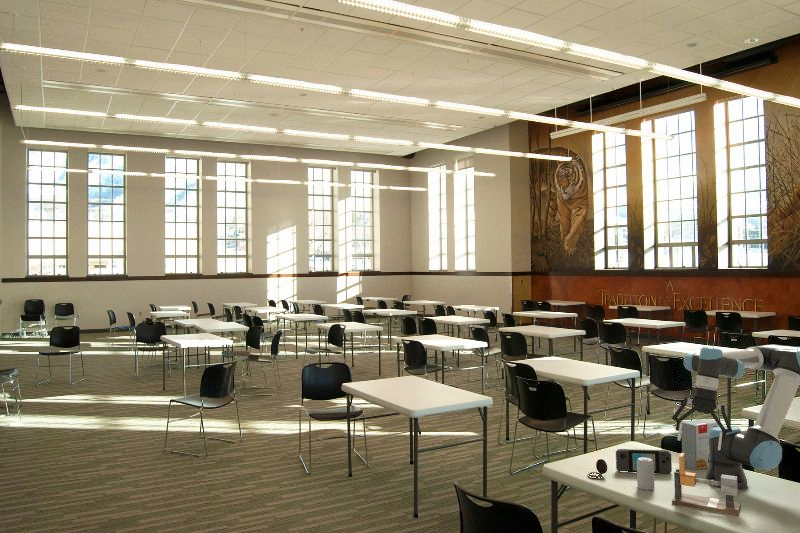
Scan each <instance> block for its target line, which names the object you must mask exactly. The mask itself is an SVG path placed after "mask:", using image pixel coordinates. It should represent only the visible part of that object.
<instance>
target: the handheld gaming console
mask: <svg viewBox="0 0 800 533" xmlns="http://www.w3.org/2000/svg"><path fill="white" fill-rule="evenodd" d="M640 457H646V458H651V459H652V460H653V463H654V473H660V475H670V474H671V473H672V472H673V471H672V469H673V468H672V454H671V452H670V451H669V450H666V449H631V448H630V449H628V448H620V449H617V450H615V469H616V471H617V472H618V471H628V472H637V460H638V458H640Z"/></svg>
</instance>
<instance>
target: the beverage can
mask: <svg viewBox="0 0 800 533" xmlns="http://www.w3.org/2000/svg"><path fill="white" fill-rule="evenodd" d="M636 474H637V476H636V479H637V487H638V488H639V489H640V490H643V491H648V492H649V491H653V490H654V489H655V474H654V463H653V460H652V459H651V458H646V457H640V458H638V460H637V473H636Z"/></svg>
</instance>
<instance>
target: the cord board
mask: <svg viewBox="0 0 800 533" xmlns="http://www.w3.org/2000/svg"><path fill="white" fill-rule="evenodd" d="M673 477H674V478H673V482H674V484H673V485H674V496H673V498H672V500H671V505H673V506H679V507H684V508H689V509H690V508H691V509H694V510H695V509H696V510H701V511H707V512H714V513H717V514H725V515H730V516H735V517H738V516H739V514H740V512H741V511H740V510H741V502H737V501H735V498H734V497H738V494H739V491H738V490H739V489H738V485H737V477H736V476H729V475H722V476H721V482H719V481H714V480H706V478H698V477H696V478H695V482H696V484H704V485H709V486H712V487H715V486H714V485H716V486H721V488H720V490H721V491H720V493H721V495H724V496H725V499H720V498H716V497H707V496H701V495H695V494H688V493H684V492H683V491H682V489H683V488H682V485H680V472H679V468H676V469H675V471H674V472H673Z"/></svg>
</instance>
